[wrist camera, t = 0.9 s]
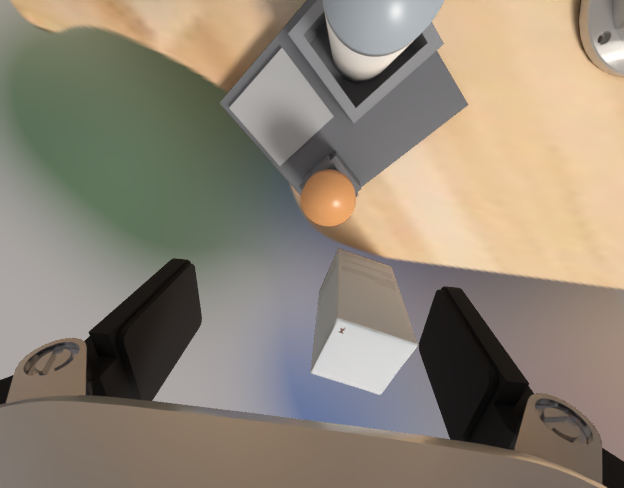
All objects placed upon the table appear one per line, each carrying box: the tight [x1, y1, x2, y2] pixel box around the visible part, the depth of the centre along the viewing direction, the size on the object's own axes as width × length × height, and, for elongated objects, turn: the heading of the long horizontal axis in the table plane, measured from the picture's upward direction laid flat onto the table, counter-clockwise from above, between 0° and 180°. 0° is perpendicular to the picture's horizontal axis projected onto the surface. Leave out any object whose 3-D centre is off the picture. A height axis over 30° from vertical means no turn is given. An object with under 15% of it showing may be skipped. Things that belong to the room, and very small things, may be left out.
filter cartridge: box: [322, 0, 444, 83], centre depth 17 cm, size 5×5×14 cm
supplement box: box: [311, 249, 418, 395], centre depth 29 cm, size 7×7×13 cm
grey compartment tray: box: [220, 0, 468, 197], centre depth 24 cm, size 17×15×5 cm
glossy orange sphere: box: [301, 169, 356, 226], centre depth 24 cm, size 4×4×4 cm
